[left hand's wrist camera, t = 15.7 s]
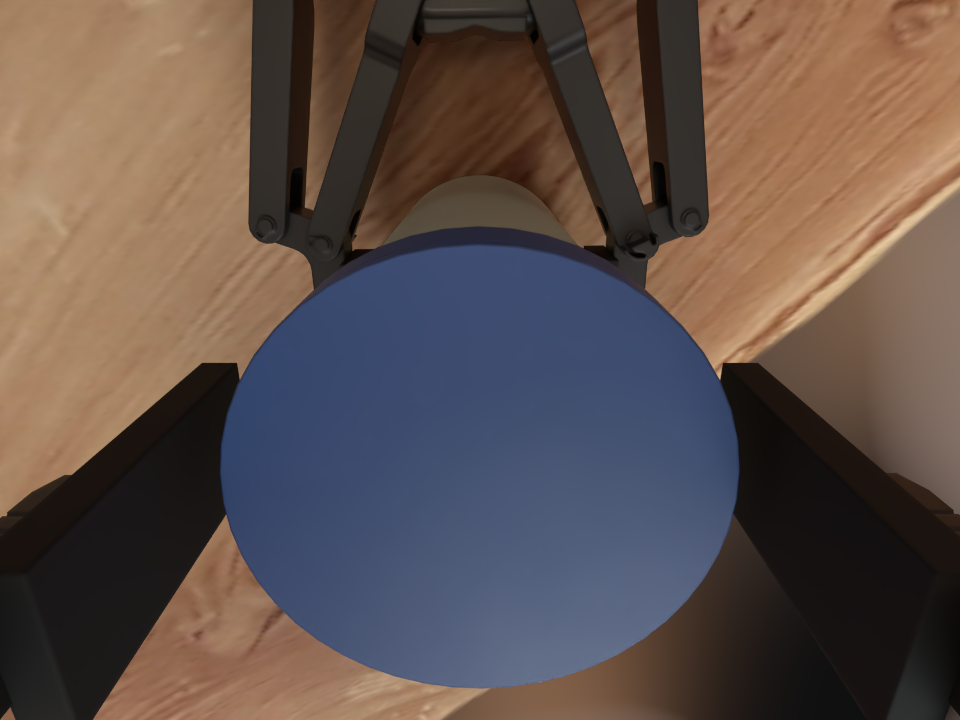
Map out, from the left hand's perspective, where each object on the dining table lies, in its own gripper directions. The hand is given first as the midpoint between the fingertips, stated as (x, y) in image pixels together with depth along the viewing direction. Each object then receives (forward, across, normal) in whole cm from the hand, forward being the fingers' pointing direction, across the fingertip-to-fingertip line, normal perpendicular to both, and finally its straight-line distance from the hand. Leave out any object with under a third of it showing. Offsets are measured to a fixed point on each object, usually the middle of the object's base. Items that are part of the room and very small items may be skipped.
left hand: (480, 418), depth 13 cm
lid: (-3, 0, 0) cm, 3 cm away
